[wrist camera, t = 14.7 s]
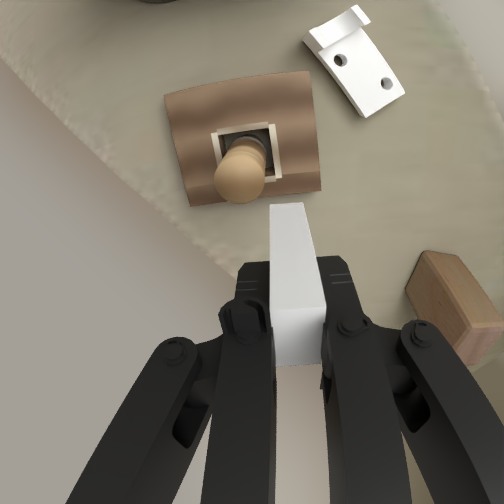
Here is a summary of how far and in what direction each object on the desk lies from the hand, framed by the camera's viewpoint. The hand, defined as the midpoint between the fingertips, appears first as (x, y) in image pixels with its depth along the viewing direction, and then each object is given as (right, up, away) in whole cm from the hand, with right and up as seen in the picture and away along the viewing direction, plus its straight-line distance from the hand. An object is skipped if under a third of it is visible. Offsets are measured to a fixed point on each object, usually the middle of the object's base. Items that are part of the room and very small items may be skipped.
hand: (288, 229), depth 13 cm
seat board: (-2, +15, +24) cm, 28 cm away
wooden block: (+34, -5, +35) cm, 49 cm away
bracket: (+12, +24, +17) cm, 32 cm away
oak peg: (-2, +13, +25) cm, 28 cm away
